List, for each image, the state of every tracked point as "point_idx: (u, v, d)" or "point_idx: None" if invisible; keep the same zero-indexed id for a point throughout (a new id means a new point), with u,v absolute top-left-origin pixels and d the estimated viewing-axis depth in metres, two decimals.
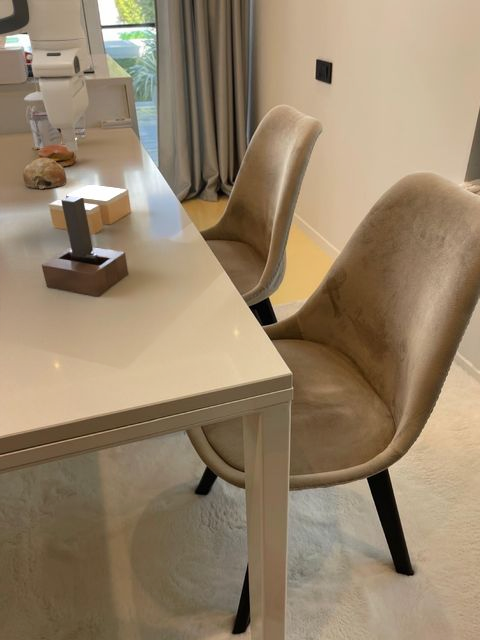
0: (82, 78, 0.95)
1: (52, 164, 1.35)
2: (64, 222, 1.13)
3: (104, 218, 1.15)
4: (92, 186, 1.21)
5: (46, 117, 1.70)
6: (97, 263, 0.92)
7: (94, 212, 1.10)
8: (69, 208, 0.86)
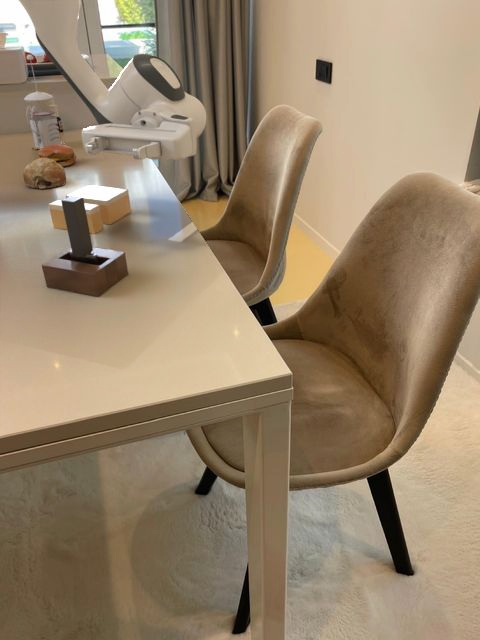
0: None
1: (52, 164, 1.35)
2: (64, 222, 1.13)
3: (104, 218, 1.15)
4: (92, 186, 1.21)
5: (46, 117, 1.70)
6: (97, 263, 0.92)
7: (94, 212, 1.10)
8: (69, 208, 0.86)
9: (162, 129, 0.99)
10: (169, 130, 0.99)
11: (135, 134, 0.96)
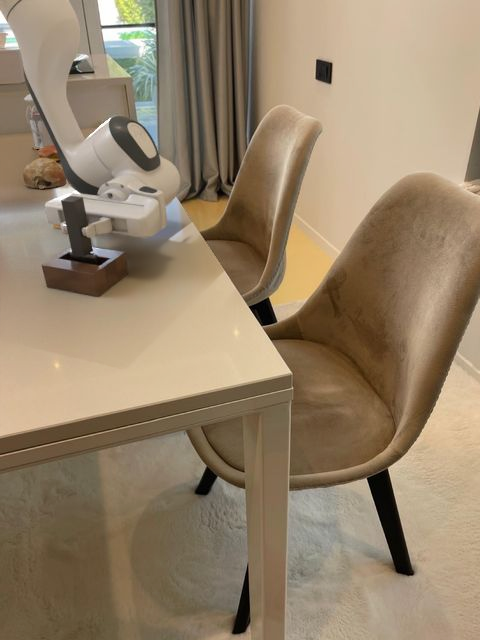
0: None
1: (52, 164, 1.35)
2: None
3: None
4: None
5: None
6: (97, 263, 0.92)
7: None
8: (69, 208, 0.86)
9: (129, 203, 0.94)
10: (137, 204, 0.94)
11: (100, 210, 0.91)
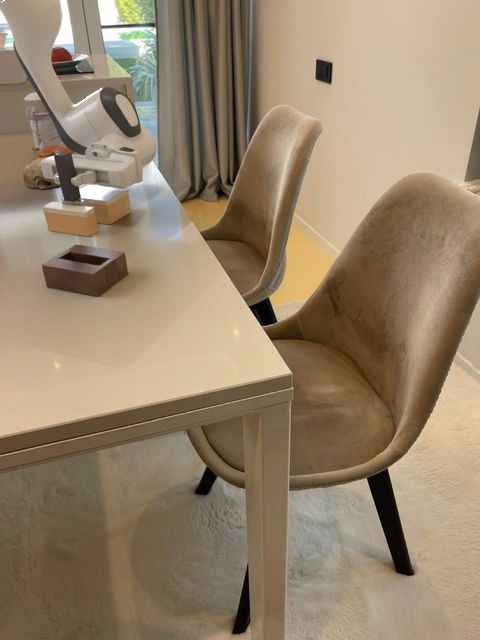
0: None
1: None
2: (59, 225, 1.11)
3: (104, 218, 1.15)
4: (92, 186, 1.21)
5: (46, 117, 1.70)
6: None
7: (89, 215, 1.09)
8: (60, 161, 1.05)
9: (111, 160, 1.14)
10: (117, 161, 1.13)
11: (86, 165, 1.10)
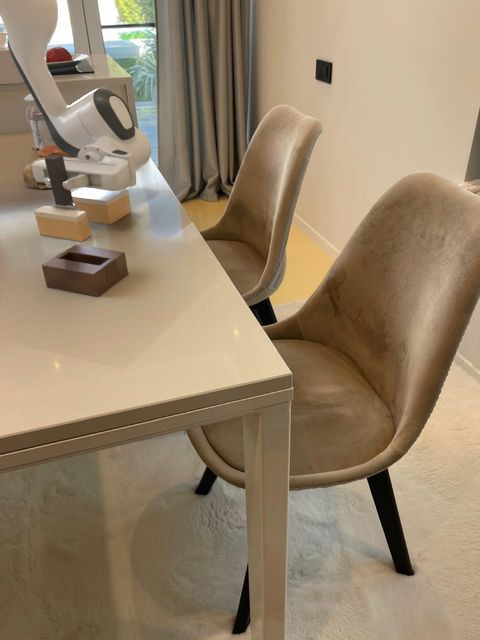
0: None
1: None
2: (51, 229, 1.09)
3: (104, 218, 1.15)
4: None
5: None
6: None
7: (81, 219, 1.07)
8: (51, 165, 1.03)
9: (104, 163, 1.11)
10: (110, 164, 1.11)
11: (78, 168, 1.08)
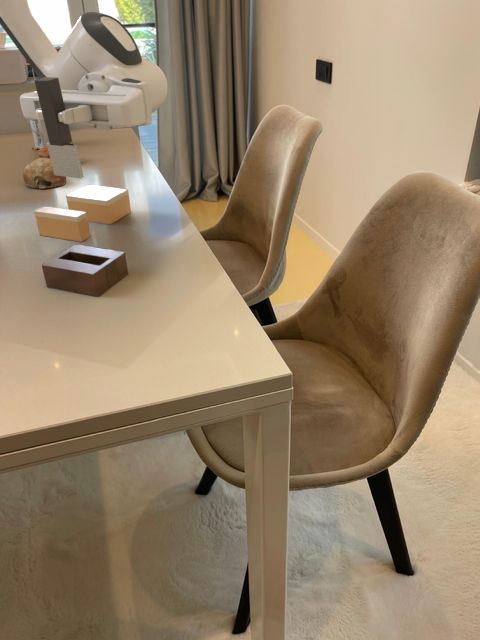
0: None
1: None
2: (50, 229, 1.09)
3: (104, 218, 1.15)
4: (92, 186, 1.21)
5: None
6: (77, 155, 0.85)
7: (81, 220, 1.07)
8: (43, 89, 0.79)
9: (111, 94, 0.88)
10: (119, 95, 0.87)
11: (79, 98, 0.84)
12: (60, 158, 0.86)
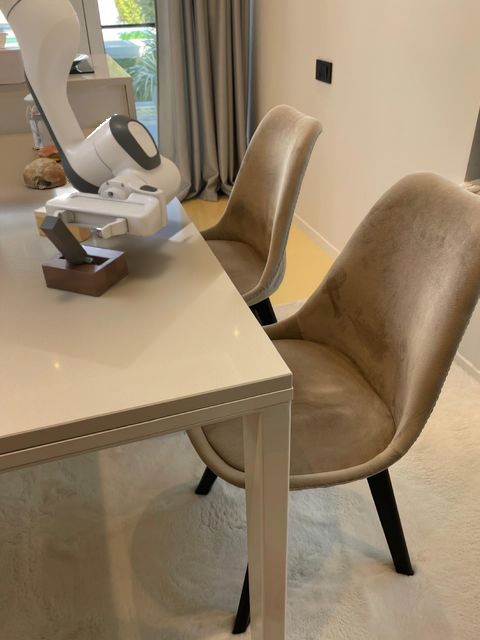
0: None
1: (52, 164, 1.35)
2: None
3: None
4: None
5: None
6: None
7: None
8: (50, 233, 0.83)
9: (130, 202, 0.94)
10: (137, 203, 0.94)
11: (101, 209, 0.91)
12: None
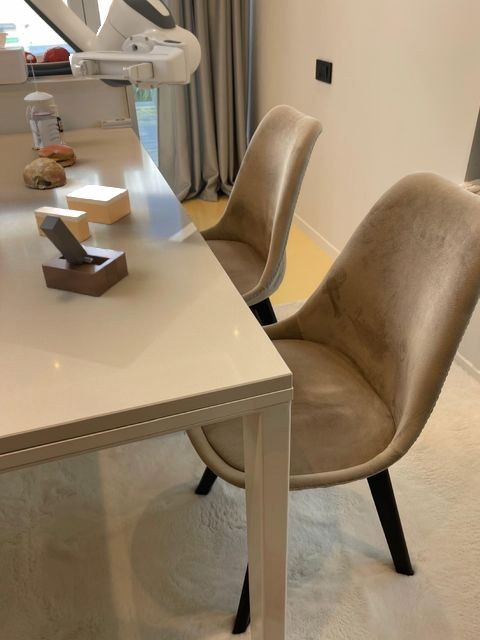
0: (144, 82, 0.99)
1: (52, 164, 1.35)
2: None
3: (104, 218, 1.15)
4: (92, 186, 1.21)
5: (46, 117, 1.70)
6: None
7: (81, 220, 1.07)
8: (50, 233, 0.83)
9: (154, 53, 0.95)
10: (162, 54, 0.94)
11: (126, 56, 0.92)
12: None
